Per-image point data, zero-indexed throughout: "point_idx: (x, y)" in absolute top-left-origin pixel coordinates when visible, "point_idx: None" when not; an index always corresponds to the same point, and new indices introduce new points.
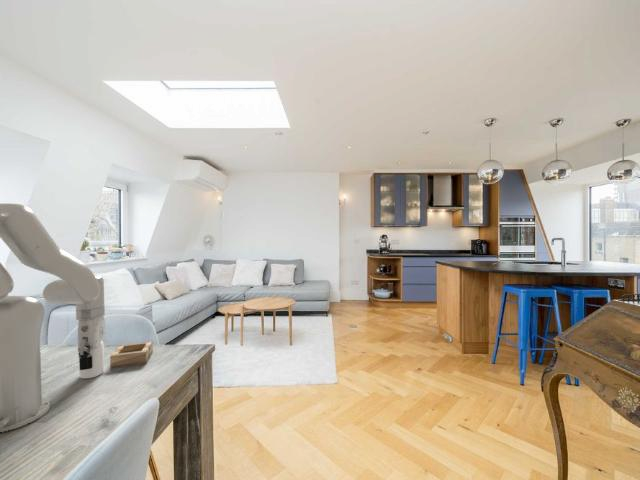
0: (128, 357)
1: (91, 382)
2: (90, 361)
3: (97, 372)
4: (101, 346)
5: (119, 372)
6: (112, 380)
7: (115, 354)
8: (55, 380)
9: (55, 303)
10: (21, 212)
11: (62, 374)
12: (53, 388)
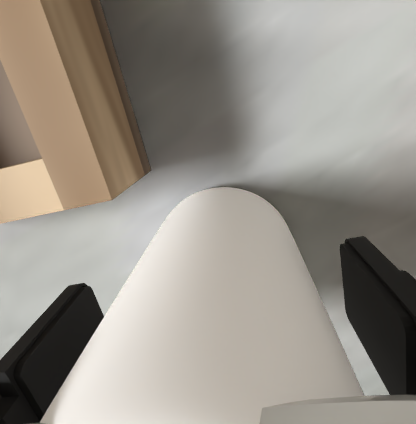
0: (65, 14)
1: (350, 185)
2: (403, 282)
3: (266, 204)
4: (217, 347)
5: (218, 57)
6: (367, 28)
7: (60, 172)
8: None
9: None
10: None
11: None
12: (363, 351)
